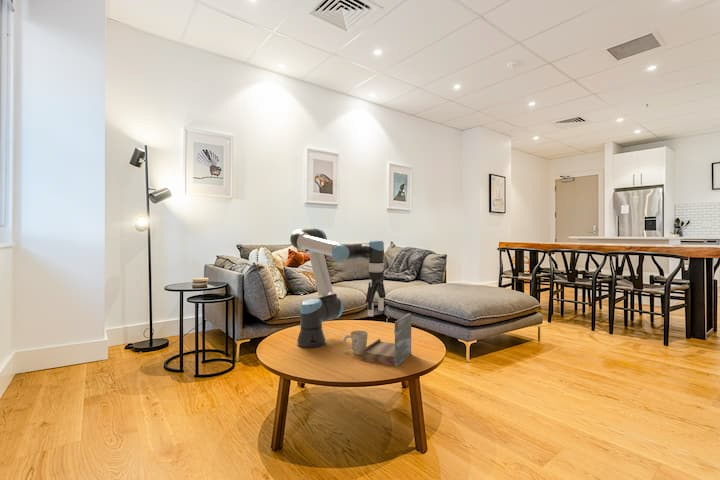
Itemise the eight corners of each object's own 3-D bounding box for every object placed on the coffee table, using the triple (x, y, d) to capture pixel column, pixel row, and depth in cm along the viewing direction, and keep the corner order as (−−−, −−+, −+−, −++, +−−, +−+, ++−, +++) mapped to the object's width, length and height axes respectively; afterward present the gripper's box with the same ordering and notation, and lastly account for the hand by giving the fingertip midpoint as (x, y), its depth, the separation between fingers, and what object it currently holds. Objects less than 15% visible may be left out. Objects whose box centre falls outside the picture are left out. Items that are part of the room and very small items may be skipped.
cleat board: (363, 360, 167) (362, 317, 166) (378, 348, 183) (378, 310, 182) (398, 366, 159) (397, 322, 158) (411, 354, 175) (411, 313, 174)
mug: (366, 356, 173) (365, 335, 172) (341, 354, 175) (340, 334, 175) (369, 350, 181) (368, 330, 180) (345, 348, 183) (344, 329, 183)
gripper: (373, 274, 166) (373, 319, 167) (391, 269, 188) (391, 308, 189) (358, 273, 169) (358, 317, 170) (378, 268, 192) (378, 307, 192)
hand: (375, 313), depth 180 cm, fingers open, 13 cm apart
